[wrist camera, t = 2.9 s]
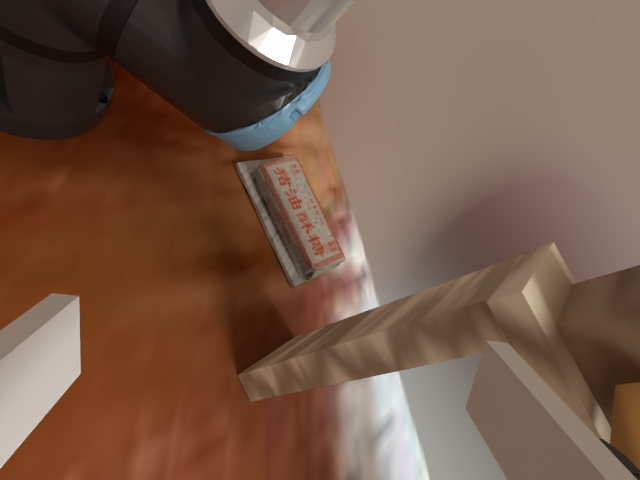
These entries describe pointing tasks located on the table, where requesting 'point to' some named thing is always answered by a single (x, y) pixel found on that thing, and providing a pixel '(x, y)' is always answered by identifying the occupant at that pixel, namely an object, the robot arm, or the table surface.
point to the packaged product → (291, 217)
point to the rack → (444, 335)
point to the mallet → (609, 350)
